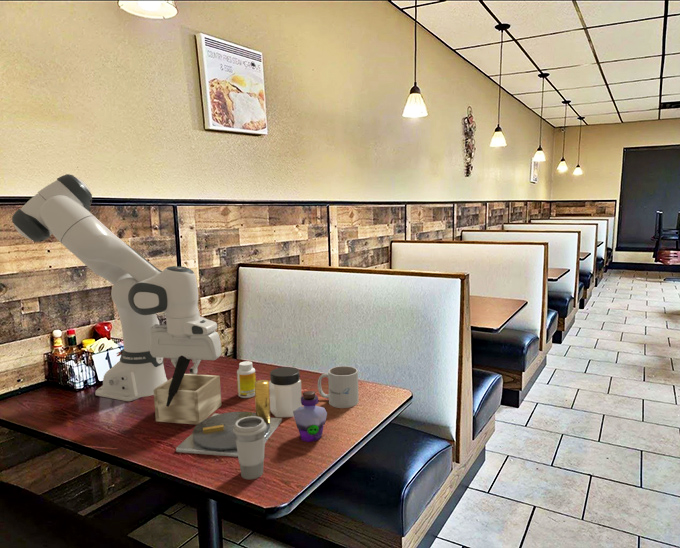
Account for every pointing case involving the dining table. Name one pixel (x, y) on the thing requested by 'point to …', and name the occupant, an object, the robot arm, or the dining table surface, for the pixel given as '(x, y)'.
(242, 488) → the dining table surface
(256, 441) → the cup
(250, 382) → the supplement bottle
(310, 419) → the potion bottle
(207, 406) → the open wooden box
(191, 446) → the base
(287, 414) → the jar
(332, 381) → the mug
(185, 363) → the microphone
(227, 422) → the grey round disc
